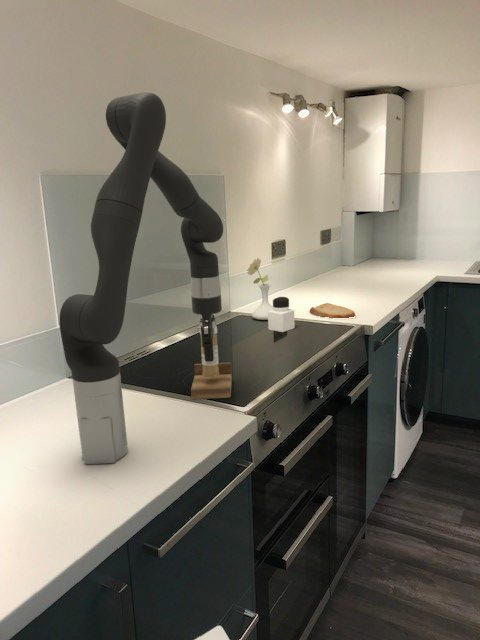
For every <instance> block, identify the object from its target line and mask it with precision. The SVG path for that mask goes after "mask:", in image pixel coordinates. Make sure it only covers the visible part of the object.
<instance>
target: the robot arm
mask: <svg viewBox="0 0 480 640" xmlns="http://www.w3.org/2000/svg"><path fill="white" fill-rule="evenodd" d="M165 107H166V106H165V104H164V102H163V101H162V99H161V98H160V97H159V96H158V95H157V94H155V93H153V92H138V93H134V94H129V95H123V96H120V97H115V98H114V99H111V101H110V102H108V103H107V107H106V109H105V121H106V125H107V128H108V129H109V132H110V133H111V135H112V137H114V138H115V139H114V140H116V141H117V142H118V144H119V145H120V146H121V147H122V148H123V149H124V150H125V151H124V153H123V155H122V157H121V159H120V161H119V162H118V163H117V165H116V167H115V168H114V169H113V171H112V172H111V173H110V174H109V176H108V177H107V179H106V180H105V182H103V184H102V186H101V187H100V189H99V191H98V193H97V196H96V200H95V203H94V208H93V211H92V217H91V222H90V234H91V238H92V242H93V245H94V248H95V253H96V255H97V260H98V261H97V262H98V276H97V281H96V286H95V291H94V294H83V293H82V294H80V293H79V294H73V295H71V296H68V298H66V299H65V301H64V302H63V304H62V305H61V307H60V311H59V322H58V323H59V330H60V338H61V342H62V346H63V347H62V348H63V353H64V358H65V363H66V364H67V367H68V368H69V371H70V372H71V377H72V384H73V385H72V386H73V394H74V401H75V409H76V418H77V425H78V432H79V433H78V434H79V440H80V441H79V442H80V450H81V457H82V459H83V464H84V465H98V464H116V462H117V461H118V460H120V459H122V458H123V457H124V456H126V454H127V453H128V451H129V447H128V438H127V437H128V436H127V427H126V419H125V418H126V417H125V410H124V409H125V406H124V398H123V397H124V396H123V390H122V381H121V380H122V377H121V369H120V361H119V359H118V358H117V356H115V355H114V354H113V353H111V352H110V351H109V350H108V349H106V347H105V345H109V344H111V343H113V342H114V341H115V340H116V339H117V338H118V336H119V334H121V333H120V332H121V330H122V328H123V323H124V319H125V314H126V306H127V305H126V304H127V295H128V287H129V278H130V274H131V273H130V271H131V266H132V261H133V256H134V251H135V247H136V241H137V238H138V233H139V229H140V225H141V220H142V217H143V211H144V205H145V198H146V195H147V192H148V188H149V187H148V186H149V184H150V179H151V180H152V181H153V182H154V184H155V185H156V187H157V188H158V189H159V190H160V192H161V193H162V195H163V197H164V198H165V200H166V201H167V203H168V205H169V206H170V207H171V208H172V210H173V212H174V213H175V214H176V215H177V216H178V217H179V218H183V219H182V221H181V225H180V234H181V239H182V241H183V245H184V247H185V250H186V254H187V256H188V259H189V264H190V265H189V266H190V295H191V309H192V310H191V311H192V313H193V314H194V315H200V316H201V318H200V320H199V327H201V328H200V329H201V336H200V339H201V338H202V346H203V347H204V353H205V361H206V362H211V361H213V360H214V356H213V346H214V344H213V338H214V337H215V330H214V327H215V325H216V326H217V319H216V317H215V316H216V314H219V313H221V311H223V310H222V309H223V308H222V307H223V306H222V305H223V304H222V289H221V280H220V274H219V273H220V272H219V271H220V270H219V258H218V255H217V254H216V253H214V252H212V251H210V250H207V249H206V246H205V244H206V243H207V244H212V243H217V242H219V241H220V239H222V237H223V234H224V224H223V220H222V219H221V217H220V215H219V214H218V213H217V211H216V210H214V208H213V207H212V206H211V205H210V204H208V202H206V201H205V200H204V199H203V198H202V197H201V196H200V195H199V193H198V191H197V189H196V187H195V186H194V184H193V182H192V180H191V179H190V177H189V176H188V175H187V173H185V171H183V169H181V167H179V166H178V165H177V164H175V163H174V162H173V161H172V160H170V159H169V158H168V157H167V156H165V155H164V154H163V153H162V152H161V151H160V150H159V149H160V146H161V143H162V140H163V138H164V134H165V130H166V123H167V122H166V121H167V115H166V114H167V113H166V112H167V111H166V108H165ZM204 243H205V244H204ZM205 340H210V342H205Z"/></svg>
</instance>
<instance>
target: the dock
mask: <svg viewBox="0 0 480 640" xmlns="http://www.w3.org/2000/svg"><path fill="white" fill-rule="evenodd" d="M193 366H194V376H193V377H194V378H193V381H192V385H191V388H190V396H191V400H198V399H199V400H201V399H202V400H203V399H204V400H205V399H224V398H225V399H226V398H227V399H228V398H231V396H232V387H233V386H232V384H233V383H232V382H233V378H232V377H233V376H232V375H233V374H232V362H229V361H228V362H219V363H218V368H219V375H218V376H216V377H211V378H207V377H204V376H203V375H202V373H203V368H202V362H201V363H194V365H193Z"/></svg>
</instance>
